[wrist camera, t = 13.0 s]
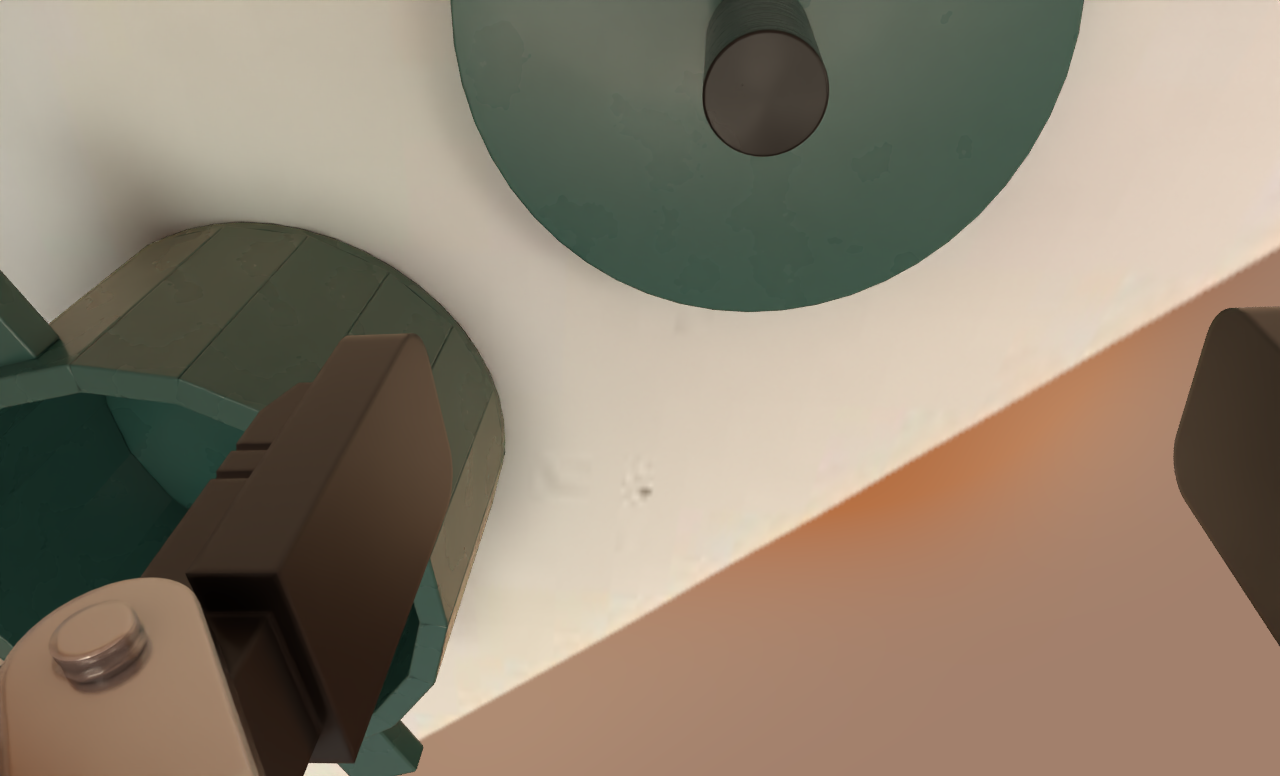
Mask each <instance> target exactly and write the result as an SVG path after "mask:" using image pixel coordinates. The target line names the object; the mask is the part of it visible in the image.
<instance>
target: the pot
mask: <svg viewBox="0 0 1280 776" xmlns="http://www.w3.org/2000/svg"><path fill="white" fill-rule="evenodd" d="M408 333H414V334H417V335H418V336H419V337H420V338H421V339H422V341H423V343H424V345H425V347H426V350H427V354H428V357H429V362H430V366H431V370H432V374H433V378H434V382H435V387H436V391H437V395H438V399H439V403H440V408H441V412H442V416H443V420H444V424H445V429H446V433H447V437H448V441H449V445H450V450H451V456H452V467H453V480H452V492H451V498H450V502H449V506H448V509H447V512H446V515H445V517H444V520H443V523H442V525H441V528H440V531H439V534H438V536H437V539H436V542H435V545H434V547H433V550H432V553H431V556H430V558H429V561H428V564H427V566H426V569H425V572H424V575H423V577H422V580H421V583H420V586H419V588H418V591H417V594H416V597H415V599H414V602H413V605H412V607H411V610H410V613H409V616H408V618H407V621H406V624H405V627H404V629H403V632H402V635H401V638H400V640H399V643H398V646H397V648H396V651H395V654H394V657H393V659H392V662H391V665H390V668H389V670H388V673H387V676H386V679H385V681H384V684H383V687H382V689H381V692H380V695H379V698H378V700H377V703H376V706H375V709H374V711H373V714H372V717H371V720H370V722H369V725H368V728H367V730H366V733H365V736H364V739H363V741H362V744H361V747H360V750H359V752H358V755H357V758H356V761H355V763H354V764H351V763H337V764H338V765H339V766H340V767H341V768H342V769H343V770H344V771H345V772H346V773H347V774H348V775H349V776H397V775H402V774H406V773H411V772H414V771H416V769H417V766H418V763H419V760H420V757H421V753H422V750H423V745H422V744H421V743H420V741H419V740H418V739H417V738H416V737H415V736H414V735H413V734H412V733H411V731H410V730H409V729H408V728H407V727H406V726H405V725H404V724H403V722H402V721H401V719H402V718H403V716H404V715H405V714H406V713H407V712H408V711H409V710H410V709H411V708H412V707H413V706H414V705H415V704H416V703H417V702H418V701H419V700H420V699H421V697H422V696H423V695H424V694H425V693H426V692H427V691H428V690H429V689H430V688H431V687H432V686H433V685H434V683H435V681H436V678H437V675H438V672H439V669H440V666H441V663H442V660H443V656H444V653H445V650H446V647H447V644H448V641H449V638H450V635H451V631H452V628H453V625H454V622H455V619H456V616H457V613H458V610H459V606H460V603H461V600H462V597H463V594H464V591H465V588H466V585H467V581H468V578H469V575H470V572H471V569H472V566H473V563H474V560H475V556H476V553H477V550H478V547H479V544H480V541H481V538H482V535H483V531H484V528H485V525H486V522H487V519H488V516H489V513H490V510H491V507H492V503H493V499H494V495H495V491H496V487H497V483H498V479H499V475H500V472H501V468H502V465H503V459H504V455H505V433H504V419H503V414H502V410H501V405H500V401H499V397H498V394H497V391H496V389H495V386H494V383H493V381H492V378H491V375H490V373H489V371H488V369H487V367H486V365H485V364H484V362H483V360H482V358H481V356H480V354H479V352H478V351H477V349H476V348H475V346H474V345H473V343H472V342H471V341H470V339H469V338H468V336H467V335H466V334H465V332H464V331H463V329H462V328H461V327H460V326H459V324H458V323H457V322H456V321H455V320H454V319H453V318H452V317H451V316H450V315H449V313H448V312H447V311H446V310H445V309H444V308H443V307H442V306H441V305H440V304H439V303H438V302H437V301H436V300H434V299H433V298H432V297H431V296H430V295H429V294H428V293H427V292H425V291H424V290H423V289H422V288H421V287H420V286H419V285H417V284H416V283H414V282H413V281H412V280H410V279H409V278H407V277H406V276H404V275H403V274H402V273H400V272H399V271H397V270H396V269H395V268H393V267H391V266H390V265H388V264H386V263H384V262H382V261H381V260H379V259H377V258H375V257H373V256H372V255H370V254H368V253H366V252H364V251H362V250H360V249H357V248H355V247H353V246H350V245H348V244H346V243H343V242H341V241H339V240H336V239H333V238H330V237H327V236H323V235H320V234H317V233H313V232H310V231H307V230H303V229H298V228H292V227H287V226H281V225H276V224H263V223H247V222H239V223H224V224H212V225H207V226H202V227H197V228H193V229H188V230H184V231H182V232H179V233H176V234H174V235H171V236H168V237H166V238H163V239H161V240H159V241H157V242H153V243H152V244H149V245H147V246H146V247H145V248H143V249H142V250H141V251H140V252H138V253H137V254H136V255H135V256H133V257H132V258H131V259H129V260H128V261H127V262H126V263H124V264H123V265H122V266H121V267H119V268H118V269H117V270H116V271H114V272H113V273H112V274H110V275H109V276H108V277H107V278H105V279H104V280H103V281H102V282H100V283H99V284H98V285H97V286H95V287H94V288H93V289H92V290H90V291H89V292H88V293H87V294H85V295H84V296H83V297H82V298H80V299H79V300H78V301H77V302H75V303H74V304H73V305H72V306H70V307H69V308H68V309H67V310H65V311H64V312H63V313H62V314H60V315H59V316H58V317H57V318H55V319H54V320H53V321H52V322H51V323H49V324H48V323H47V322H46V321H45V320H44V319H43V317H42V316H41V315H40V314H39V313H38V312H37V311H36V310H35V308H34V307H33V306H32V305H31V304H30V303H29V302H28V301H27V299H26V298H25V297H24V296H23V295H22V294H21V293H20V292H19V290H18V289H17V288H16V287H15V286H14V285H13V284H12V283H11V281H10V280H9V279H8V278H7V277H6V276H5V275H4V274H3V272H2V271H1V270H0V659H2V660H3V661H5V659H6V657H7V655H8V654H9V653H10V651H11V650H12V649H13V647H14V646H15V645H16V643H17V642H18V641H19V640H20V639H21V638H22V637H23V636H24V635H25V634H26V633H27V632H28V631H29V630H30V629H31V628H32V627H33V626H34V625H36V624H37V623H38V622H39V621H40V620H42V619H43V618H44V617H45V616H47V615H48V614H50V613H51V612H53V611H54V610H56V609H57V608H58V607H60V606H62V605H64V604H65V603H67V602H69V601H71V600H72V599H74V598H76V597H78V596H81V595H83V594H85V593H87V592H89V591H91V590H94V589H97V588H100V587H102V586H105V585H108V584H112V583H116V582H119V581H123V580H129V579H136V578H140V577H141V575H142V574H143V573H144V571H145V570H146V568H147V567H148V566H149V564H150V563H151V561H152V560H153V559H154V557H155V556H156V554H157V553H158V552H159V550H160V549H161V547H162V546H163V545H164V543H165V542H166V541H167V539H168V538H169V536H170V535H171V534H172V532H173V531H174V529H175V528H176V527H177V525H178V524H179V522H180V521H181V520H182V518H183V517H184V516H185V514H186V513H187V511H188V510H189V509H190V507H191V506H192V504H193V503H194V502H195V500H196V499H197V497H198V496H199V495H200V493H201V492H202V491H203V489H204V488H205V486H206V485H207V484H208V482H209V481H210V479H216V476H217V474H216V471H217V470H218V468H219V467H220V466H221V464H222V463H223V461H224V460H225V459H226V457H227V456H228V454H229V453H230V452H231V451H236V443H237V442H238V440H239V439H240V438H241V436H242V435H243V434H244V432H245V431H246V429H247V428H248V427H249V425H250V424H251V422H252V421H253V420H254V418H255V417H256V415H257V414H258V413H259V411H261V410H262V409H263V408H265V407H266V406H267V405H269V404H270V403H271V402H273V401H274V400H276V399H277V398H278V397H280V396H281V395H282V394H284V393H285V392H286V391H288V390H289V389H291V388H292V387H293V386H295V385H296V384H297V383H304V382H313V381H314V379H315V378H316V376H317V375H318V373H319V372H320V370H321V369H322V367H323V366H324V364H325V363H326V361H327V360H328V358H329V357H330V355H331V354H332V352H333V351H334V349H335V348H336V346H337V345H338V343H339V342H340V340H341V339H342V338H344V337H345V336H349V335H378V334H408Z"/></svg>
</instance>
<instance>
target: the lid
mask: <svg viewBox="0 0 1280 776" xmlns="http://www.w3.org/2000/svg"><path fill="white" fill-rule="evenodd" d="M1083 4H1084V0H451V14H452V27H453V39H454V47H455V52H456V57H457V62H458V67H459V72H460V77H461V82H462V86H463V89H464V92H465V95H466V98H467V101H468V104H469V107H470V110H471V113H472V116H473V119H474V122H475V124H476V126H477V128H478V130H479V133H480V135H481V137H482V139H483V141H484V143H485V145H486V147H487V150H488V152H489V154H490V156H491V158H492V159H493V161H494V162H495V164H496V166H497V167H498V169H499V170H500V172H501V174H502V175H503V177H504V178H505V180H506V182H507V183H508V185H509V186H510V188H511V189H512V190H513V192H514V193H515V194H516V195H517V197H518V198H519V199H520V200H521V202H522V203H523V204H524V205H525V207H526V208H527V209H528V210H529V211H530V213H531V214H532V215H533V216H534V217H535V218H536V219H537V220H538V221H539V222H540V223H541V224H542V225H543V226H544V227H545V228H546V229H547V230H548V231H549V232H550V233H551V234H552V235H553V236H554V237H555V238H556V239H557V240H558V241H559V242H561V243H562V244H563V245H565V246H566V247H567V248H569V249H570V250H571V251H572V252H574V253H575V254H576V255H578V256H579V257H580V258H582V259H583V260H584V261H586V262H587V263H589V264H590V265H592V266H594V267H595V268H597V269H599V270H600V271H602V272H604V273H606V274H607V275H609V276H611V277H612V278H614V279H616V280H618V281H620V282H622V283H624V284H627V285H629V286H631V287H634V288H636V289H638V290H640V291H643V292H645V293H647V294H650V295H653V296H657V297H660V298H663V299H667V300H670V301H673V302H676V303H680V304H685V305H690V306H696V307H701V308H707V309H712V310H725V311H740V312H758V311H778V310H787V309H793V308H799V307H805V306H811V305H817V304H821V303H824V302H828V301H832V300H835V299H839V298H842V297H846V296H849V295H852V294H855V293H857V292H860V291H862V290H865V289H867V288H869V287H872V286H874V285H877V284H879V283H882V282H884V281H886V280H888V279H890V278H892V277H894V276H895V275H897V274H899V273H901V272H903V271H905V270H906V269H908V268H910V267H912V266H914V265H916V264H917V263H919V262H920V261H922V260H923V259H925V258H926V257H927V256H929V255H930V254H932V253H933V252H935V251H936V250H937V249H939V248H940V247H942V246H943V245H945V244H946V243H947V242H949V241H950V240H951V239H952V238H953V237H955V236H956V235H957V234H958V233H959V232H960V231H961V230H963V229H964V228H965V227H966V226H967V225H968V224H969V223H971V222H972V221H973V220H974V219H975V218H976V217H977V216H978V215H979V214H980V213H981V212H982V211H983V210H984V209H985V208H986V207H987V206H988V204H989V203H990V202H991V201H992V200H993V199H994V198H995V197H996V196H997V195H998V193H999V192H1000V191H1001V190H1002V189H1003V188H1004V187H1005V186H1006V184H1007V183H1008V182H1009V180H1010V179H1011V177H1012V176H1013V175H1014V173H1015V172H1016V171H1017V169H1018V168H1019V166H1020V165H1021V164H1022V162H1023V161H1024V159H1025V158H1026V157H1027V155H1028V154H1029V152H1030V151H1031V149H1032V147H1033V145H1034V144H1035V142H1036V140H1037V138H1038V136H1039V135H1040V133H1041V131H1042V129H1043V128H1044V126H1045V124H1046V122H1047V120H1048V119H1049V117H1050V115H1051V112H1052V110H1053V108H1054V105H1055V103H1056V100H1057V98H1058V96H1059V93H1060V91H1061V89H1062V86H1063V84H1064V81H1065V79H1066V77H1067V73H1068V70H1069V66H1070V63H1071V59H1072V56H1073V52H1074V49H1075V45H1076V42H1077V38H1078V35H1079V30H1080V23H1081V17H1082V10H1083Z"/></svg>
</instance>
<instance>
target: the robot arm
mask: <svg viewBox="0 0 1280 776" xmlns="http://www.w3.org/2000/svg"><path fill="white" fill-rule="evenodd" d="M1174 469H1175V475H1176V480H1177V484H1178V487H1179V489H1180V492H1181V494H1182V496H1183V498H1184V500H1185V502H1186V503H1187V505H1188V506H1189V508H1190V509H1191V511H1192V512H1193V514H1194V515H1195V517H1196V519H1197V520H1198V522H1199V523H1200V525H1201V526H1202V528H1203V529H1204V531H1205V532H1206V534H1207V535H1208V537H1209V538H1210V540H1211V541H1212V543H1213V545H1214V546H1215V548H1216V549H1217V551H1218V552H1219V554H1220V555H1221V557H1222V558H1223V560H1224V561H1225V563H1226V565H1227V566H1228V568H1229V569H1230V571H1231V572H1232V574H1233V575H1234V577H1235V578H1236V580H1237V581H1238V583H1239V584H1240V586H1241V588H1242V589H1243V591H1244V592H1245V594H1246V595H1247V597H1248V598H1249V600H1250V601H1251V603H1252V604H1253V606H1254V608H1255V609H1256V611H1257V612H1258V614H1259V615H1260V617H1261V618H1262V620H1263V621H1264V623H1265V624H1266V626H1267V628H1268V629H1269V631H1270V632H1271V634H1272V635H1273V637H1274V638H1275V640H1276V641H1277V643H1278V644H1279V646H1280V307H1279V306H1278V307H1246V308H1229V309H1225V310H1223V311H1221V312H1220V313H1219V314H1218V315H1217V316H1216V317H1215V319H1214V320H1213V322H1212V323H1211V325H1210V327H1209V330H1208V333H1207V336H1206V339H1205V343H1204V346H1203V349H1202V352H1201V356H1200V359H1199V362H1198V365H1197V368H1196V372H1195V375H1194V378H1193V382H1192V385H1191V388H1190V391H1189V395H1188V398H1187V401H1186V405H1185V408H1184V411H1183V415H1182V418H1181V421H1180V424H1179V428H1178V431H1177V434H1176V438H1175V444H1174ZM216 474H217V476H216V479H210V481H209V482H208V484H207V485H206V486H205V488H204V489H203V491H202V492H201V493H200V495H199V496H198V497H197V499H196V500H195V502H194V503H193V504H192V506H191V507H190V509H189V510H188V511H187V513H186V514H185V516H184V517H183V518H182V520H181V521H180V522H179V524H178V525H177V527H176V528H175V529H174V531H173V532H172V534H171V535H170V536H169V538H168V539H167V541H166V542H165V543H164V545H163V546H162V547H161V549H160V550H159V552H158V553H157V554H156V556H155V557H154V559H153V560H152V561H151V563H150V564H149V566H148V567H147V568H146V570H145V571H144V573H143V574H142V575H141V577H140V578H136V579H129V580H123V581H119V582H116V583H112V584H108V585H105V586H102V587H100V588H97V589H94V590H91V591H89V592H87V593H85V594H83V595H81V596H78V597H76V598H74V599H72V600H71V601H69V602H67V603H65V604H64V605H62V606H60V607H58V608H57V609H56V610H54V611H53V612H51V613H50V614H48V615H47V616H45V617H44V618H43V619H42V620H40V621H39V622H38V623H37V624H36V625H34V626H33V627H32V628H31V629H30V630H29V631H28V632H27V633H26V634H25V635H24V636H23V637H22V638H21V639H20V640H19V641H18V642H17V643H16V645H15V646H14V647H13V649H12V650H11V651H10V653H9V654H8V655H7V657H6V659H5V661H4V662H3V664H2V666H0V776H303V775H304V773H305V770H306V768H307V765H308V763H351V764H354V763H355V761H356V758H357V755H358V752H359V750H360V747H361V744H362V741H363V739H364V736H365V733H366V730H367V728H368V725H369V722H370V720H371V717H372V714H373V711H374V709H375V706H376V703H377V700H378V698H379V695H380V692H381V689H382V687H383V684H384V681H385V679H386V676H387V673H388V670H389V668H390V665H391V662H392V659H393V657H394V654H395V651H396V648H397V646H398V643H399V640H400V638H401V635H402V632H403V629H404V627H405V624H406V621H407V618H408V616H409V613H410V610H411V607H412V605H413V602H414V599H415V597H416V594H417V591H418V588H419V586H420V583H421V580H422V577H423V575H424V572H425V569H426V566H427V564H428V561H429V558H430V556H431V553H432V550H433V547H434V545H435V542H436V539H437V536H438V534H439V531H440V528H441V525H442V523H443V520H444V517H445V515H446V512H447V509H448V506H449V502H450V498H451V492H452V480H453V467H452V456H451V450H450V445H449V441H448V437H447V433H446V429H445V424H444V420H443V416H442V412H441V408H440V403H439V399H438V395H437V391H436V387H435V382H434V378H433V374H432V370H431V366H430V362H429V357H428V354H427V350H426V347H425V345H424V343H423V341H422V339H421V338H420V337H419V336H418V335H417V334H414V333H408V334H378V335H349V336H345V337H344V338H342V339H341V340H340V342H339V343H338V345H337V346H336V348H335V349H334V351H333V352H332V354H331V355H330V357H329V358H328V360H327V361H326V363H325V364H324V366H323V367H322V369H321V370H320V372H319V373H318V375H317V376H316V378H315V379H314V381H313V382H304V383H297V384H296V385H295V386H293V387H292V388H291V389H289V390H288V391H286V392H285V393H284V394H282V395H281V396H280V397H278V398H277V399H276V400H274V401H273V402H271V403H270V404H269V405H267V406H266V407H265V408H263V409H262V410H261V411H259V413H258V414H257V415H256V417H255V418H254V420H253V421H252V422H251V424H250V425H249V427H248V428H247V429H246V431H245V432H244V434H243V435H242V436H241V438H240V439H239V440H238V442H237V443H236V451H231V452H230V453H229V454H228V456H227V457H226V459H225V460H224V461H223V463H222V464H221V466H220V467H219V468H218V470H217V471H216Z"/></svg>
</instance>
